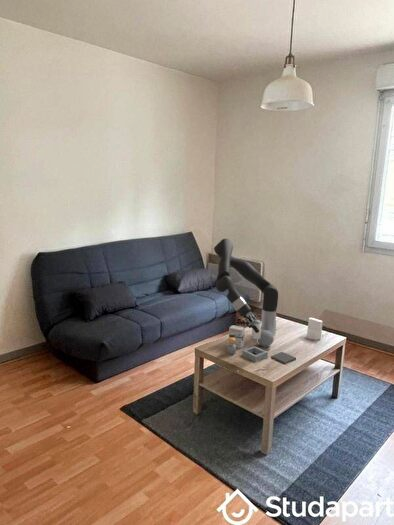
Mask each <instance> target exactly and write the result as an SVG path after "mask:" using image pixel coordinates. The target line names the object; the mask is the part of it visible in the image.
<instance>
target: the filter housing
mask: <svg viewBox="0 0 394 525" xmlns="http://www.w3.org/2000/svg"><path fill="white" fill-rule="evenodd" d="M226 353H227V354H228V355H230V356H234V355H236V353H237V347H236V344H227V349H226ZM254 353H255V354H254ZM268 354H269V352H268V351H266V350H264V349H261V348H259V347H257V346H255V345H253V346H251V347H248V348H246V349H242V354H241V356H243V357H244V358H247V359H249V360H251V361H253V362H255V363H256V362H258V361H261V360H263V359H266V358H268V356H269V355H268Z"/></svg>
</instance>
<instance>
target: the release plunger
mask: <svg viewBox="0 0 394 525" xmlns="http://www.w3.org/2000/svg"><path fill="white" fill-rule="evenodd" d="M228 342H229V344H235V342H236V339H235V338H233V337H230V338H229V337H228Z"/></svg>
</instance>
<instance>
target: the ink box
mask: <svg viewBox="0 0 394 525" xmlns="http://www.w3.org/2000/svg"><path fill="white" fill-rule="evenodd" d="M245 329H246V328H245V327H243V326H239V325H233V324H232V325H231V326H229V329H228V339H229V338H230V337H233V338H235V339H236V342H235V344H236V348H239V349H242V348H243V347H244V345H245V333H246V330H245ZM227 343H228V344H229V341H228V342H227ZM228 344H227V345H228Z"/></svg>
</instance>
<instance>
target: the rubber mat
mask: <svg viewBox="0 0 394 525" xmlns="http://www.w3.org/2000/svg"><path fill="white" fill-rule="evenodd" d="M270 358H271V359H273V360H275V361H277V362H280V363H281V364H284V365H286V364H288V363H291V362H294V361H296V360H297V357H295V356H293V355H291V354H290V353H289V354H288V353H287V352H284V351H280V352H277V353H275V354H273V355H271V356H270Z"/></svg>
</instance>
